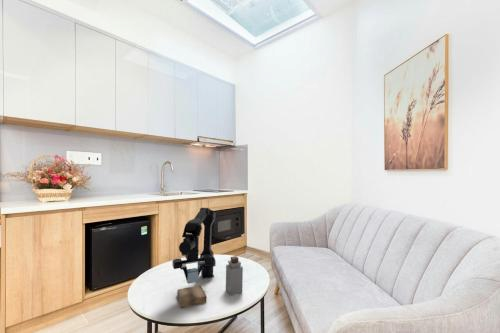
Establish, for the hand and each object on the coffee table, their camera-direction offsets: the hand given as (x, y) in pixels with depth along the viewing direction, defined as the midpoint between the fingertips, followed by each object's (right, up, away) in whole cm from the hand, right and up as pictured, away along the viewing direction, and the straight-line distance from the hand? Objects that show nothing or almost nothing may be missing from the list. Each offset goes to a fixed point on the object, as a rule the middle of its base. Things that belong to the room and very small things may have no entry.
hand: (192, 278), depth 113 cm
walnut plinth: (0, -10, 0) cm, 10 cm away
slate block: (0, -1, 0) cm, 1 cm away
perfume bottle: (+21, -11, +7) cm, 24 cm away
